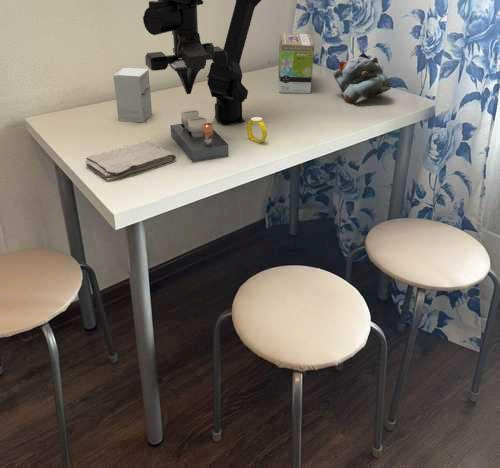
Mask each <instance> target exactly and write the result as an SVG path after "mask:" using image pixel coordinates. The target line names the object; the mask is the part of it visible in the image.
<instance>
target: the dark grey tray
mask: <svg viewBox="0 0 500 468" xmlns="http://www.w3.org/2000/svg"><path fill="white" fill-rule="evenodd" d="M170 137H171V138H172V139H173V140H174V141H175V143H176V144H177V145H178V147H179V148H180V149H181V150H182V152H183V153H184V154H185V155H186V157H187V158H188V159H189V160H190V161H191V163H197V162H204V161H210V160H213V159H215V160H216V159H220V158H226V157H229V156H230V155H229V143H227V141H225V140H224V138H223V137H221V135H220V134H218V133H217V132H216V131H215V130H214V129H213V138H211V144H212V145H211V146H205V140H204V138H203V136H202V137H195V138H192V134H191V132H190V131H189V130H185V125H184V124H182V123H177V124H170Z"/></svg>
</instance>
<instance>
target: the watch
mask: <svg viewBox="0 0 500 468" xmlns="http://www.w3.org/2000/svg"><path fill="white" fill-rule="evenodd" d="M253 124H258V125H259V126H260V129H261V133H262V136H261V139H259V138H256V137H255V136H254V135H255V134H254V133H253V130H252V127H253V126H252V125H253ZM246 132H247V136H248V138H249V140H250V141H253V142H255V143H258V144H261V143H263V142H265V141H266V139H267V136H268V130H267V127H266V123H264V121H263V118H262V117H260V116H254V117H251V118H250V120H249V121H248V122H247V125H246Z"/></svg>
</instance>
